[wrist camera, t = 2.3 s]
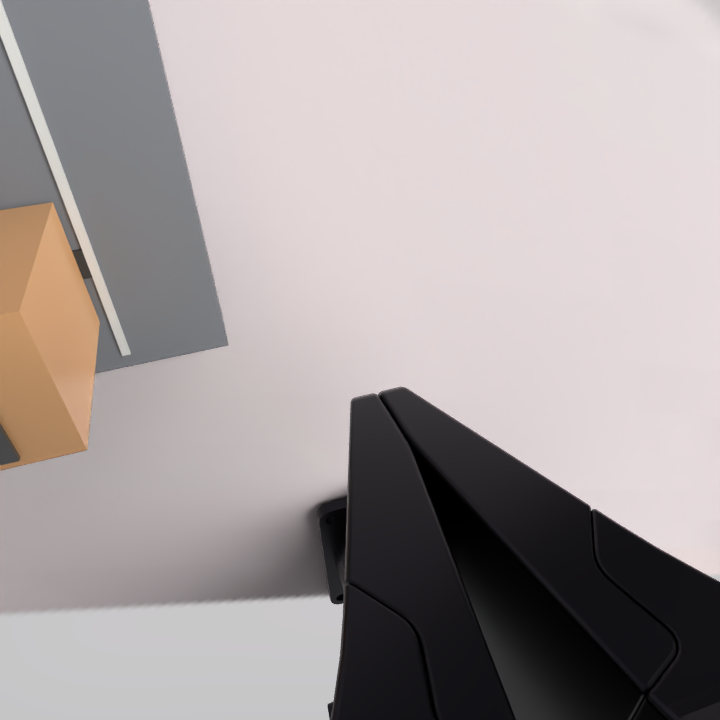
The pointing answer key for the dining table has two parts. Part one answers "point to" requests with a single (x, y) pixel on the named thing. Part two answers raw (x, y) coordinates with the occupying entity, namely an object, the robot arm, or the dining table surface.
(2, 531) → the dining table surface
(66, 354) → the block
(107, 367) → the console
